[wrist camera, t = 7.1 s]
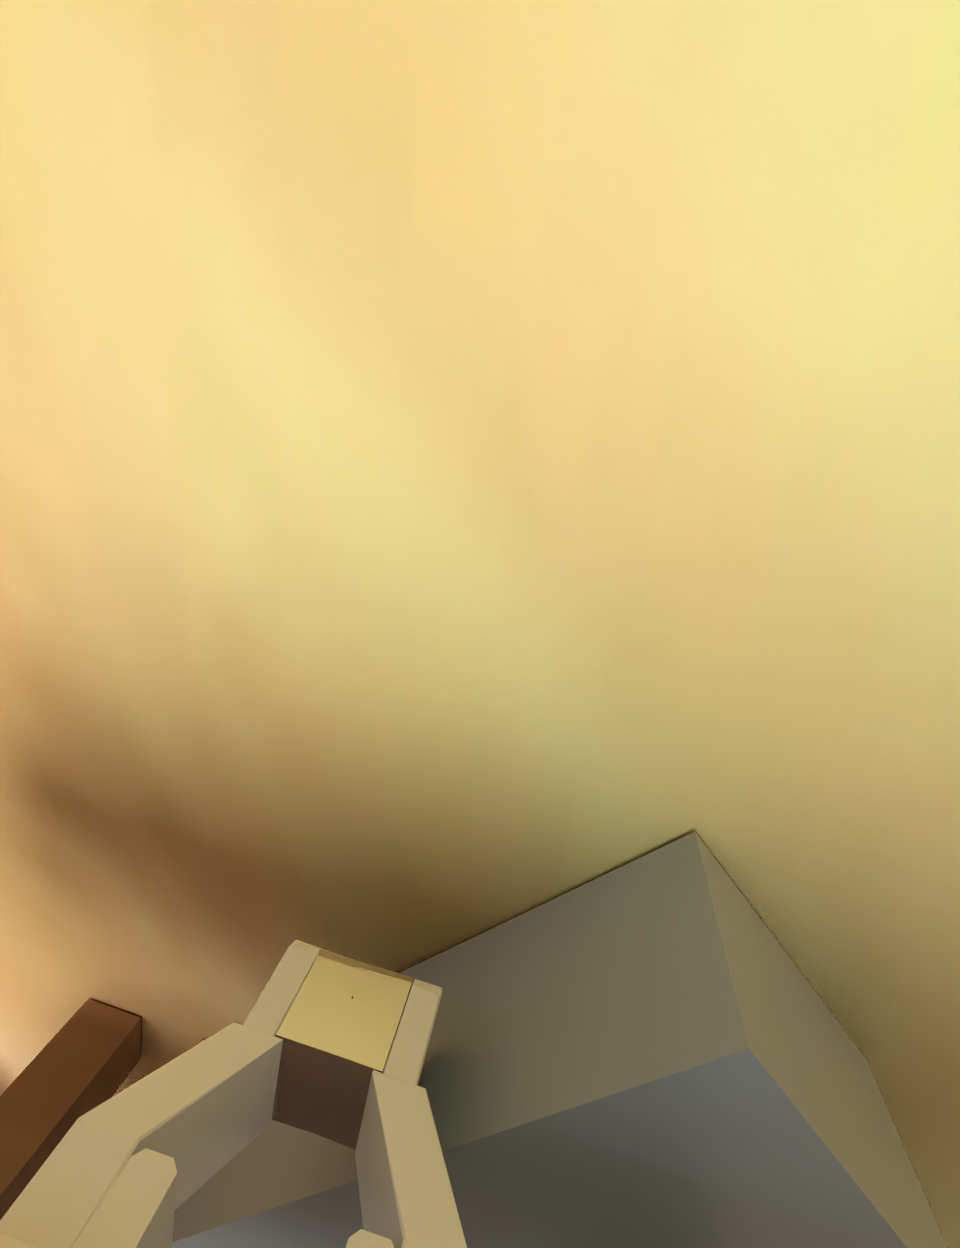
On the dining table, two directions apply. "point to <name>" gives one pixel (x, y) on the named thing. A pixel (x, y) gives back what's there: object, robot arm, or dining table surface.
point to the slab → (617, 1092)
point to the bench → (63, 1090)
